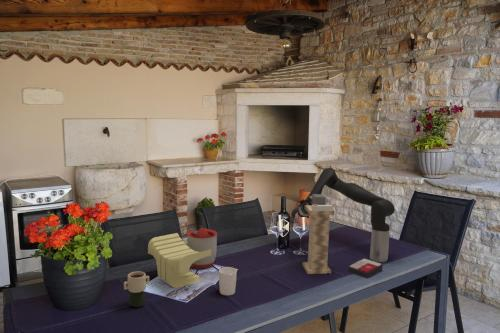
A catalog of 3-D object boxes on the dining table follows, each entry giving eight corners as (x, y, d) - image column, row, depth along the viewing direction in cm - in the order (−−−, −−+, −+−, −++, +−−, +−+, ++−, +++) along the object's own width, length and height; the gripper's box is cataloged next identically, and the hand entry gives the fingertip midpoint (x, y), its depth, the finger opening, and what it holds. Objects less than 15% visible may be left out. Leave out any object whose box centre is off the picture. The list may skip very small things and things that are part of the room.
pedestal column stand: (324, 264, 215) (327, 205, 211) (331, 273, 204) (334, 211, 199) (301, 264, 214) (304, 205, 210) (307, 274, 202) (310, 211, 198)
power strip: (331, 209, 202) (331, 203, 201) (332, 211, 199) (333, 204, 199) (311, 209, 200) (311, 203, 200) (312, 211, 198) (313, 204, 197)
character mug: (145, 298, 172) (145, 268, 171) (153, 304, 167) (153, 274, 165) (120, 305, 165) (120, 274, 164) (128, 312, 160) (127, 280, 158)
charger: (316, 201, 218) (316, 190, 218) (325, 209, 203) (325, 197, 202) (307, 201, 218) (307, 190, 217) (315, 209, 202) (316, 197, 201)
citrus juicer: (207, 256, 223) (208, 220, 220) (222, 267, 208) (222, 229, 205) (180, 261, 215) (180, 224, 212) (193, 272, 200) (194, 233, 197)
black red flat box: (348, 265, 206) (363, 257, 216) (347, 273, 207) (363, 264, 217) (367, 272, 198) (382, 263, 208) (367, 280, 199) (382, 270, 209)
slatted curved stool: (148, 274, 197) (148, 238, 195) (177, 266, 207) (177, 232, 205) (179, 296, 174) (179, 256, 172) (210, 287, 185) (211, 249, 182)
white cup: (229, 297, 175) (230, 275, 173) (214, 293, 179) (215, 271, 177) (239, 291, 181) (240, 269, 180) (225, 286, 185) (225, 265, 184)
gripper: (319, 214, 227) (329, 205, 211) (294, 214, 225) (302, 206, 210) (318, 201, 230) (327, 192, 214) (293, 201, 228) (300, 192, 212)
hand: (314, 199), depth 212 cm, fingers open, 4 cm apart
